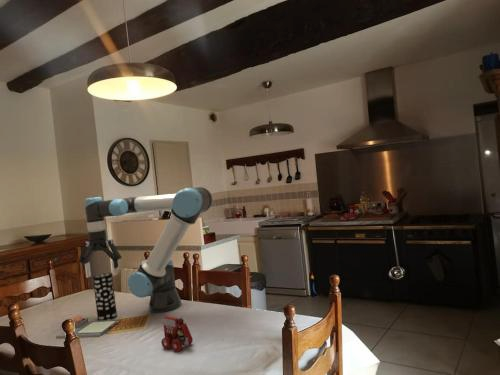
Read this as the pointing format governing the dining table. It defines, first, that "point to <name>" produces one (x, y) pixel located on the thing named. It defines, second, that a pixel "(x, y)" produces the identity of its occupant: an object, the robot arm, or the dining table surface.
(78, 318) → the button
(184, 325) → the toy fire truck
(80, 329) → the picture board
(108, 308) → the white-spotted black cylinder
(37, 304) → the dining table surface
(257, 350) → the dining table surface
